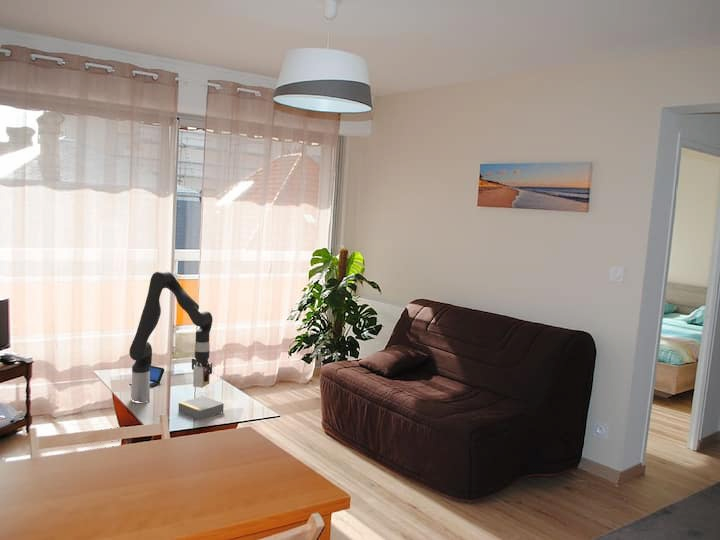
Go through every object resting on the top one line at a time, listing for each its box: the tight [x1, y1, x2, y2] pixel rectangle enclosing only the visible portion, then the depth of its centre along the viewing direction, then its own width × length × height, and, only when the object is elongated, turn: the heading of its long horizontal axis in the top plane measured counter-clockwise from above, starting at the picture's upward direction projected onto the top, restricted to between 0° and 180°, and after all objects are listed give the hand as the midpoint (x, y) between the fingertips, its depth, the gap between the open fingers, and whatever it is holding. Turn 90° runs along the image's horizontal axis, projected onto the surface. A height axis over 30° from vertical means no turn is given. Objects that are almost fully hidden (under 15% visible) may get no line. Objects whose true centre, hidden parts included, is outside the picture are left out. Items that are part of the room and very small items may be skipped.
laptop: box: [150, 365, 165, 388], centre depth 364 cm, size 16×13×9 cm
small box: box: [192, 366, 211, 388], centre depth 320 cm, size 8×6×10 cm
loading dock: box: [178, 395, 225, 421], centre depth 323 cm, size 17×16×5 cm
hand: (201, 379), depth 321 cm, fingers closed on small box, 7 cm apart
